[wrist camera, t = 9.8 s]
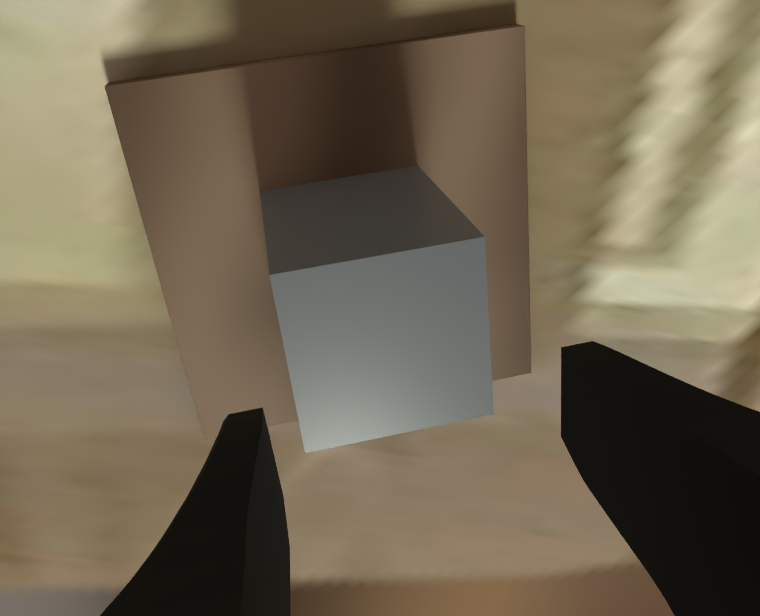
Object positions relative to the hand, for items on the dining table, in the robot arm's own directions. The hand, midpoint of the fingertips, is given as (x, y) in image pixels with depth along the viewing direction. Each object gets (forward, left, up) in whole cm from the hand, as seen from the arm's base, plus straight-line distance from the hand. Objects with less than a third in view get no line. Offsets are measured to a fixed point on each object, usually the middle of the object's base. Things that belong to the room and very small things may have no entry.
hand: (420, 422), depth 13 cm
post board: (0, 0, -9) cm, 9 cm away
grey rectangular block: (0, 0, -9) cm, 9 cm away
